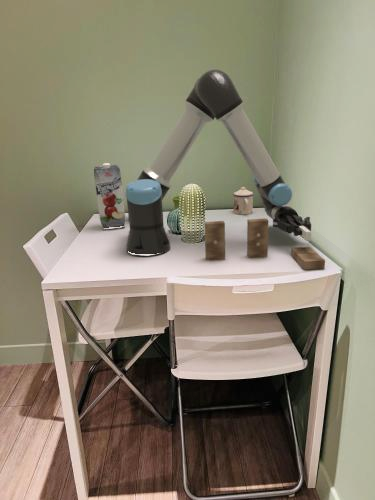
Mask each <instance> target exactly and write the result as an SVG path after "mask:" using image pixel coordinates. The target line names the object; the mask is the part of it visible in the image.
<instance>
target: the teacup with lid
mask: <svg viewBox="0 0 375 500" xmlns="http://www.w3.org/2000/svg"><path fill="white" fill-rule="evenodd" d="M246 188H247V187H245V186H241V187H240V189H239V190H237V191H235V192H233V194H232V195H233V213H234V214H236V215H251V214H252V213H253V204H254V202H253V199H254V196H253V195H254V192H253V191H250V190H248V189H246Z"/></svg>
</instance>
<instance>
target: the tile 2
mask: <svg viewBox="0 0 375 500" xmlns="http://www.w3.org/2000/svg"><path fill="white" fill-rule="evenodd" d="M246 221H247V223H246V225H247V227H246V228H247V230H246V231H247V235H246V237H247V238H246V239H247V241H246V243H247V244H246V245H247V246H246V247H247V249H246V250H247V251H246V253H247V254H246V256H247V258H248V259H255V258H256V259H257V258H268V253H269V252H268V250H269V249H268V248H269V247H268V246H269V223H270V222H269V221H270V220H269V219H268V218H253V219H249V218H248V219H247V220H246Z"/></svg>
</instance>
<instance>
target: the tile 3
mask: <svg viewBox="0 0 375 500" xmlns="http://www.w3.org/2000/svg"><path fill="white" fill-rule="evenodd" d="M290 256H291V257H292V258H293V259H294V261H295V262H296V263H297V264H298V265H299V266H300V267H301V268H302V270H304V271H305V270H306V271H307V270H318V269H319V270H320V269H322V270H323V269H325V268H326V266H325V265H326V260H325V258H324V257H322V255H320V254H319V253H318V252H317V251H316V250H314V249H313V247H311V246H298V247H297V246H296V247H295V246H294V247H290Z"/></svg>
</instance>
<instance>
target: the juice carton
mask: <svg viewBox="0 0 375 500" xmlns="http://www.w3.org/2000/svg"><path fill="white" fill-rule="evenodd" d="M93 176H94V177H93V178H94V185H95V194H96V199H97V209H98V215H99V221H100V224H101V227H102V229H103V228H109V227H120V226H124V227H125V224H126V212H125V202H124V193H123V183H122V176H121V170H120V167H119V166H118V165H117V164H112V165H111V163H108V162H105V163H103V164H102V165H100V166H99V165H97V166H95V167H94V169H93Z"/></svg>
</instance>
